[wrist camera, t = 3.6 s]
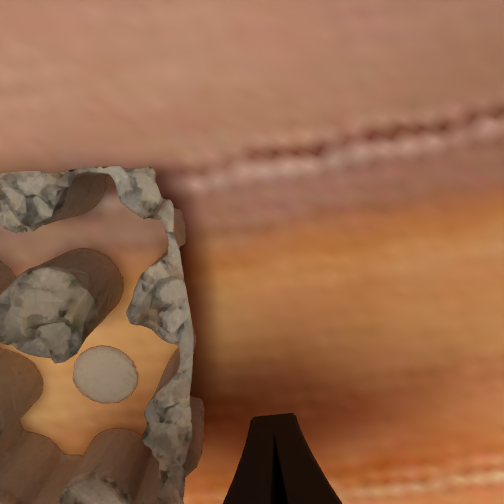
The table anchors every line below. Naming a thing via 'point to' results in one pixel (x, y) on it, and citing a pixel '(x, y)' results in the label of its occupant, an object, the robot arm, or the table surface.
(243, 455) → the robot arm
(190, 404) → the egg carton
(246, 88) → the table surface
